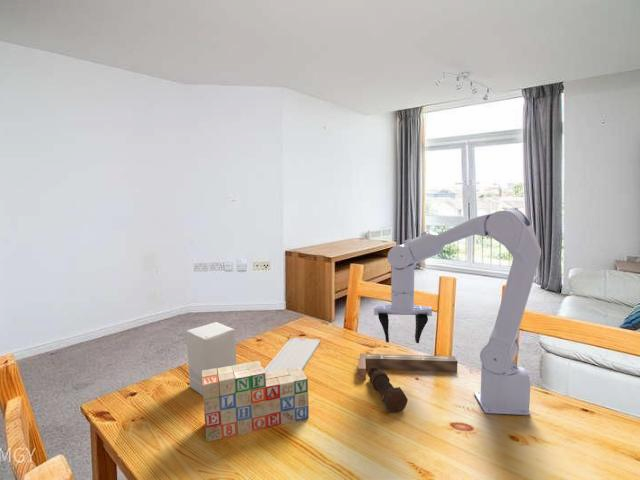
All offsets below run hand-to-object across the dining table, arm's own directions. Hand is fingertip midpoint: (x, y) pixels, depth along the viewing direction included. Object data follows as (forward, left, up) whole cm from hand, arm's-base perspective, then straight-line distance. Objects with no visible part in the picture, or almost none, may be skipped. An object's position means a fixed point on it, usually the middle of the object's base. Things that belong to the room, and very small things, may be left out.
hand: (402, 341), depth 96 cm
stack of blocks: (+33, +22, -10) cm, 41 cm away
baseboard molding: (+32, -6, -10) cm, 34 cm away
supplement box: (+48, +9, -10) cm, 50 cm away
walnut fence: (-2, -1, -9) cm, 10 cm away
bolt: (+5, +10, -10) cm, 15 cm away
